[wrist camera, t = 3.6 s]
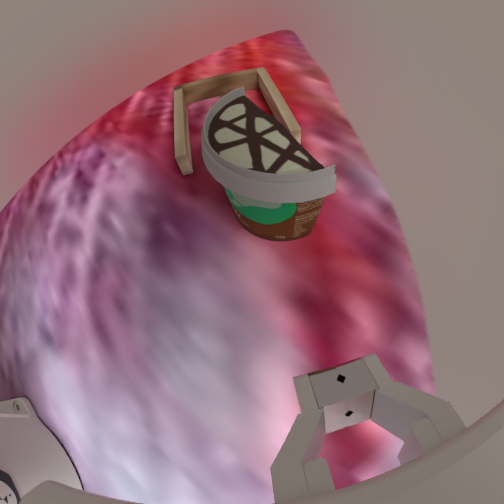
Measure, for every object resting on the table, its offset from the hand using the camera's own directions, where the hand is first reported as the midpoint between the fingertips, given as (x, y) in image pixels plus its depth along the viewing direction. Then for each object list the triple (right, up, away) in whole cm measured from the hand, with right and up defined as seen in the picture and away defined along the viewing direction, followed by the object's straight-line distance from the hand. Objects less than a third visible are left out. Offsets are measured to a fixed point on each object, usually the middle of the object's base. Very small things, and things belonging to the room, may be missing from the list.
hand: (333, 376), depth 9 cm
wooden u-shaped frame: (-6, +21, +23) cm, 32 cm away
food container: (-3, +8, +17) cm, 19 cm away
